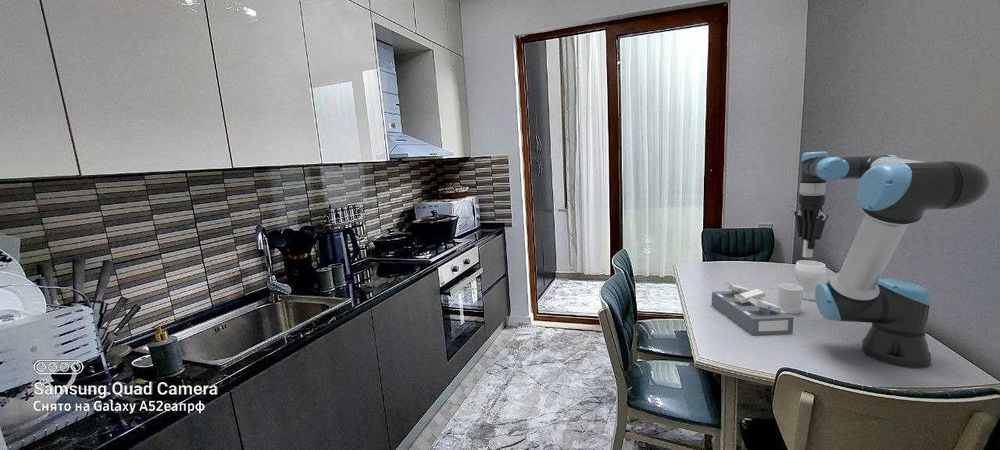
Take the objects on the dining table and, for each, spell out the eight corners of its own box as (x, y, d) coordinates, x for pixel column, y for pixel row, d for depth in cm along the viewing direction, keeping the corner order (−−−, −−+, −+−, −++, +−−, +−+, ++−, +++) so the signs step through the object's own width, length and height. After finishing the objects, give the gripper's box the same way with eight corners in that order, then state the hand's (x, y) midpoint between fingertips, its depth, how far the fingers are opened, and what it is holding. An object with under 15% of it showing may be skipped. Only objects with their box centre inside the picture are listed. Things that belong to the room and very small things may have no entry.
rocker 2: (766, 296, 149) (765, 292, 149) (742, 303, 149) (741, 299, 149) (757, 292, 154) (756, 287, 154) (734, 298, 155) (733, 294, 154)
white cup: (805, 315, 153) (807, 290, 151) (782, 314, 155) (784, 290, 153) (795, 307, 161) (796, 283, 159) (773, 306, 162) (774, 283, 160)
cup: (829, 298, 167) (832, 264, 164) (813, 303, 163) (816, 268, 161) (802, 291, 177) (805, 258, 174) (786, 295, 173) (789, 262, 170)
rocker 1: (749, 294, 158) (751, 290, 158) (728, 289, 158) (729, 285, 158) (742, 290, 163) (743, 286, 163) (721, 285, 163) (722, 281, 163)
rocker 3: (780, 313, 140) (782, 308, 140) (756, 306, 140) (758, 301, 140) (770, 307, 146) (772, 303, 145) (747, 300, 145) (749, 296, 145)
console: (792, 333, 139) (794, 312, 138) (752, 335, 139) (753, 314, 138) (745, 303, 167) (746, 286, 165) (711, 305, 167) (712, 287, 166)
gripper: (837, 195, 139) (832, 260, 143) (807, 192, 152) (803, 252, 156) (816, 196, 139) (812, 261, 143) (788, 193, 152) (784, 253, 155)
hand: (807, 256), depth 149 cm, fingers closed
